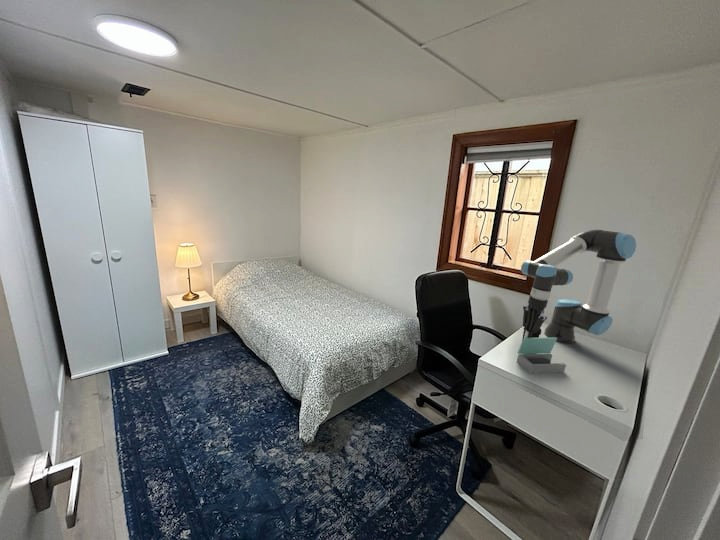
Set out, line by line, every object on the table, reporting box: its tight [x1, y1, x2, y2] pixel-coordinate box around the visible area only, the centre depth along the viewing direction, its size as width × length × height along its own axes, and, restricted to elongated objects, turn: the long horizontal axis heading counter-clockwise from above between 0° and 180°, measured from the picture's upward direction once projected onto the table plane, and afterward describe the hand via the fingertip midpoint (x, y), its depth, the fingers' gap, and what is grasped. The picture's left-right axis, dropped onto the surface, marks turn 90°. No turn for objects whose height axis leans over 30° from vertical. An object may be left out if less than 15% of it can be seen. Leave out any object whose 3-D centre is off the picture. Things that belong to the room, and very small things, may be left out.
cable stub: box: [528, 358, 552, 364], centre depth 142 cm, size 10×3×3 cm
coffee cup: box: [521, 327, 543, 342], centre depth 155 cm, size 9×8×13 cm
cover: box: [517, 337, 557, 355], centre depth 143 cm, size 18×9×1 cm
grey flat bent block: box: [516, 353, 567, 374], centre depth 141 cm, size 18×9×4 cm, turn 100°
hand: (525, 342), depth 143 cm, fingers closed
